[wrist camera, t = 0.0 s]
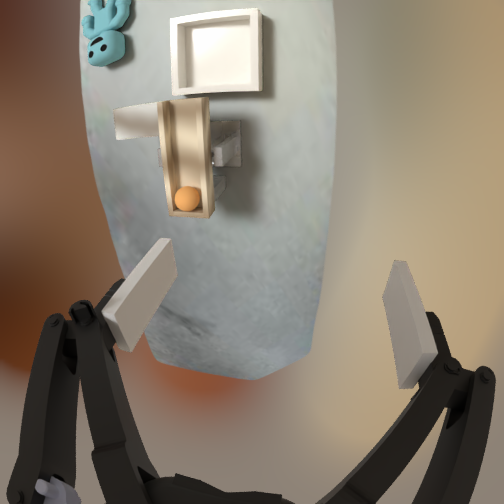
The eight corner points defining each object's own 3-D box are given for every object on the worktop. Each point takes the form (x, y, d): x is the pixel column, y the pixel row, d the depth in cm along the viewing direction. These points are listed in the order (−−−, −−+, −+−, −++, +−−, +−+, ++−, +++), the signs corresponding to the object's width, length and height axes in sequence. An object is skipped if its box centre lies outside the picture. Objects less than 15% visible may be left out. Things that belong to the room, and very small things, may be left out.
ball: (179, 182, 36) (168, 191, 33) (202, 182, 36) (193, 191, 33) (182, 204, 38) (172, 214, 35) (204, 205, 37) (195, 216, 35)
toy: (120, -23, 24) (122, 49, 30) (136, -15, 28) (140, 53, 34) (75, 3, 26) (75, 72, 32) (92, 8, 30) (94, 74, 36)
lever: (116, 108, 32) (105, 111, 30) (208, 96, 30) (201, 98, 28) (130, 206, 40) (121, 213, 38) (215, 209, 38) (209, 218, 36)
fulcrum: (179, 122, 40) (152, 132, 33) (240, 120, 38) (224, 129, 31) (184, 186, 46) (162, 207, 39) (242, 188, 44) (228, 210, 37)
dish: (180, 22, 31) (170, 19, 28) (262, 14, 29) (257, 8, 26) (182, 94, 37) (172, 95, 34) (262, 90, 35) (258, 91, 32)
